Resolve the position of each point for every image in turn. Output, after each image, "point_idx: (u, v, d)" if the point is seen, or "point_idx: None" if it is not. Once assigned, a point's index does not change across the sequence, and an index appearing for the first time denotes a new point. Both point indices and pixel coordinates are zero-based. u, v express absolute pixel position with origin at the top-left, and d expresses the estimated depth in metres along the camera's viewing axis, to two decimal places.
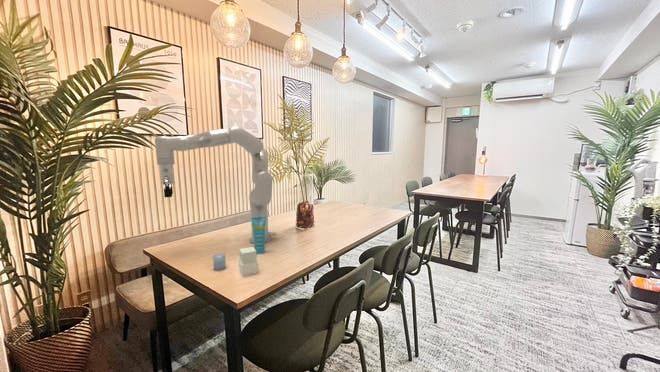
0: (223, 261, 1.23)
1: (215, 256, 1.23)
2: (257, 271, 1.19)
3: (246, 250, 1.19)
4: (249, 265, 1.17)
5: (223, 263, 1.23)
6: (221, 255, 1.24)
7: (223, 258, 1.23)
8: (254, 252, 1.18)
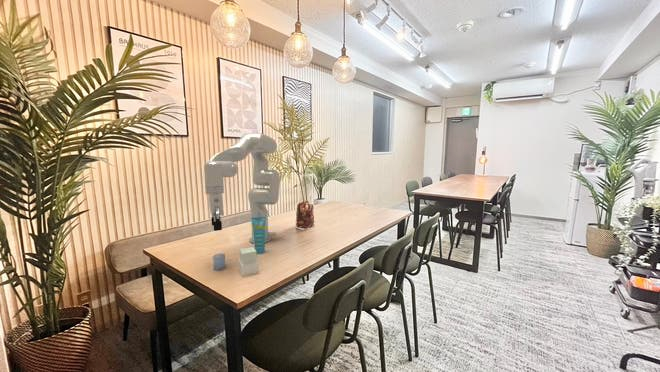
0: (223, 261, 1.23)
1: (215, 256, 1.23)
2: (257, 271, 1.19)
3: (246, 250, 1.19)
4: (249, 265, 1.17)
5: (223, 263, 1.23)
6: (221, 255, 1.24)
7: (223, 258, 1.23)
8: (254, 252, 1.18)
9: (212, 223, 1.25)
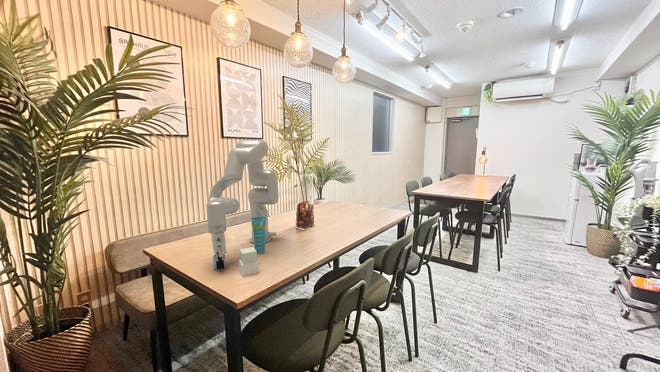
0: None
1: (215, 256, 1.23)
2: (257, 271, 1.19)
3: (246, 250, 1.19)
4: (249, 265, 1.17)
5: None
6: None
7: (223, 258, 1.23)
8: (254, 252, 1.18)
9: None
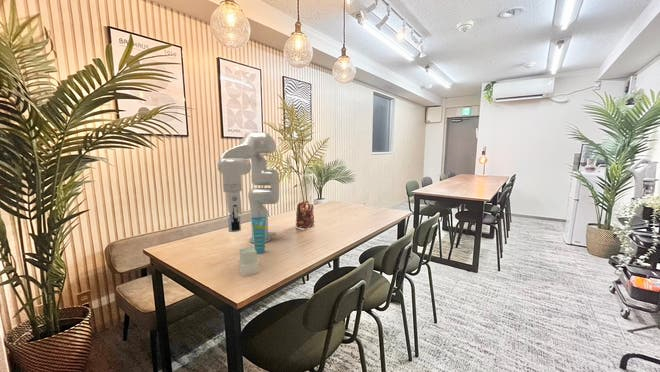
0: None
1: (230, 217, 1.18)
2: (257, 271, 1.19)
3: (246, 250, 1.19)
4: (249, 265, 1.17)
5: None
6: None
7: None
8: (254, 252, 1.18)
9: None
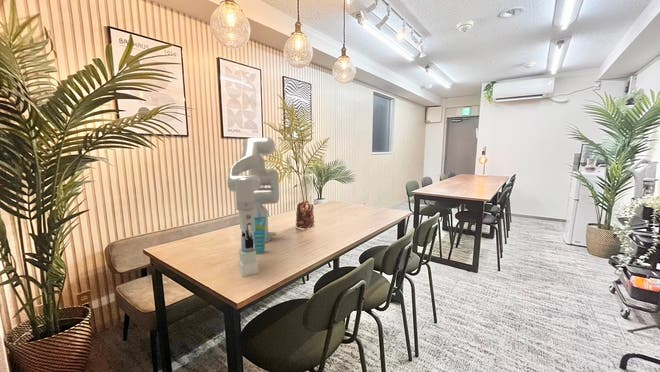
0: None
1: (243, 237, 1.18)
2: (257, 271, 1.19)
3: None
4: (249, 265, 1.17)
5: None
6: None
7: None
8: (254, 252, 1.18)
9: None
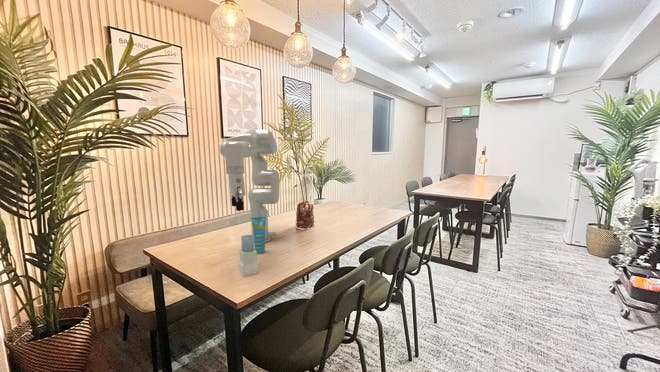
0: (252, 242, 1.18)
1: (244, 237, 1.18)
2: (257, 271, 1.19)
3: None
4: (249, 265, 1.17)
5: (252, 244, 1.18)
6: (249, 236, 1.19)
7: (252, 239, 1.18)
8: (254, 252, 1.18)
9: (232, 204, 1.25)
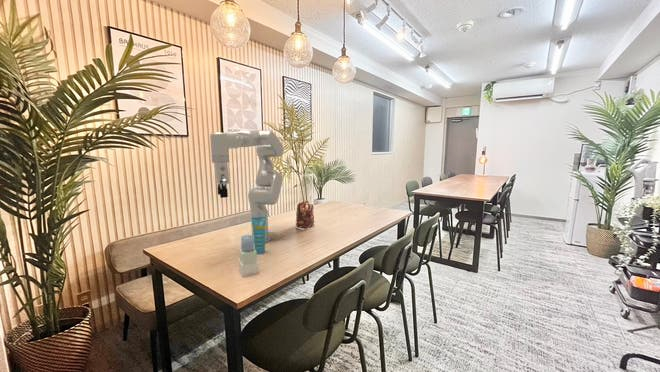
0: (252, 242, 1.18)
1: (243, 237, 1.18)
2: (257, 271, 1.19)
3: None
4: (249, 265, 1.17)
5: (252, 245, 1.18)
6: (249, 236, 1.19)
7: (252, 239, 1.18)
8: (254, 252, 1.18)
9: (218, 192, 1.31)
